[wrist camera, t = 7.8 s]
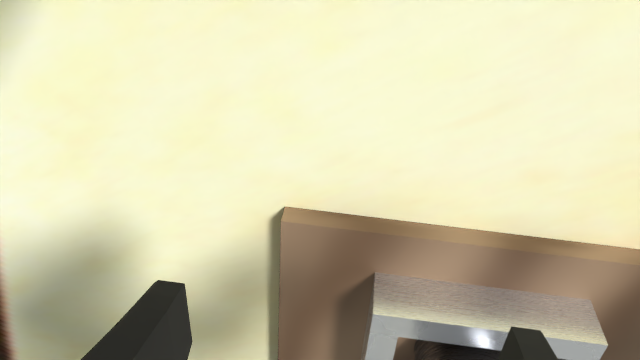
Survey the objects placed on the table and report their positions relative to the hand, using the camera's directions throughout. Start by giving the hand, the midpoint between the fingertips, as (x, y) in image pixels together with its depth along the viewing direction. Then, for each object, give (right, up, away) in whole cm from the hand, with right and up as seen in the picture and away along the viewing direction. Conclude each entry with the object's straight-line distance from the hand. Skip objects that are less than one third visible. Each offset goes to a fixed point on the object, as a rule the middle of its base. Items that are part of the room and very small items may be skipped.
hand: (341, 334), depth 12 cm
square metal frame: (+6, -5, +14) cm, 16 cm away
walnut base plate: (+7, -4, +15) cm, 17 cm away
